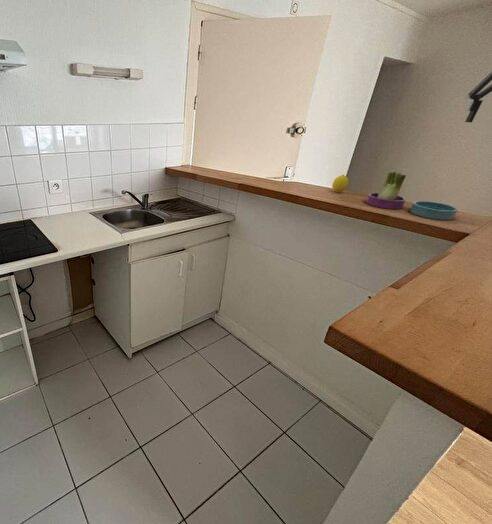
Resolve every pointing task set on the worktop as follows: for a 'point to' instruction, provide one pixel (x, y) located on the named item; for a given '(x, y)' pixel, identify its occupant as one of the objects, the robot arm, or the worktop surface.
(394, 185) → the fennel bulb
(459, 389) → the worktop surface
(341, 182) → the lemon
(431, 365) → the worktop surface
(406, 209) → the worktop surface
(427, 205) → the teal bowl
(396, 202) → the plum bowl
